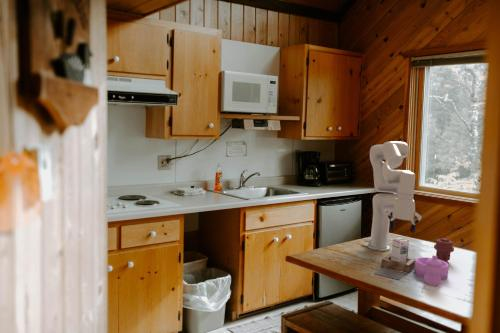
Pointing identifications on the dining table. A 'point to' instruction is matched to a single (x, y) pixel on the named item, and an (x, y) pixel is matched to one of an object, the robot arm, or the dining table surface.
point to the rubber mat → (390, 273)
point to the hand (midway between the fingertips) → (402, 230)
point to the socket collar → (398, 264)
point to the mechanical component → (443, 249)
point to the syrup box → (400, 250)
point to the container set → (431, 269)
